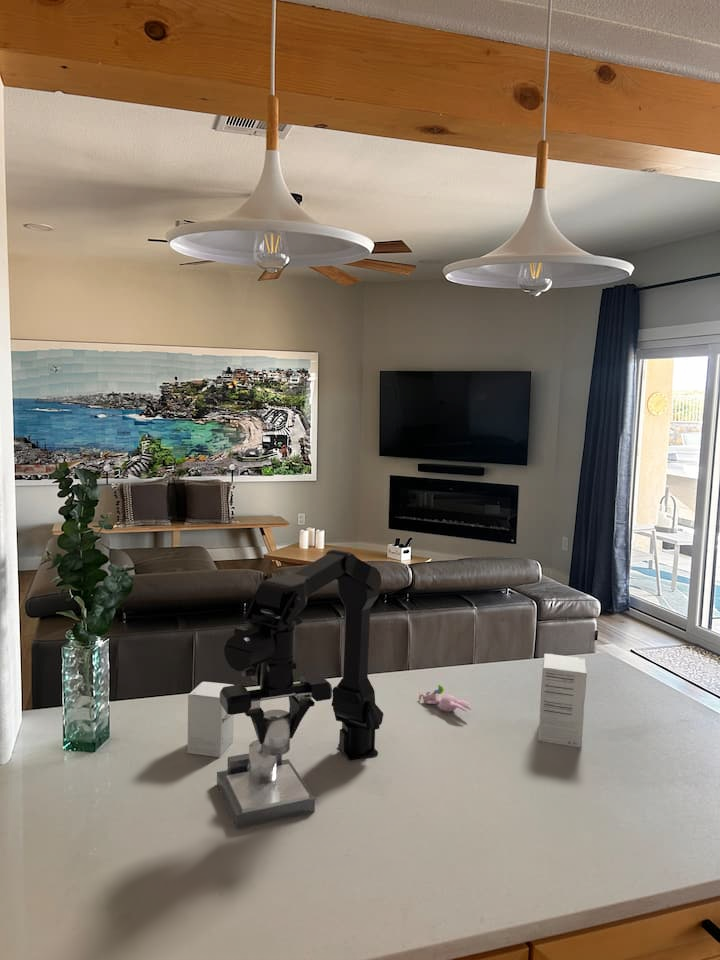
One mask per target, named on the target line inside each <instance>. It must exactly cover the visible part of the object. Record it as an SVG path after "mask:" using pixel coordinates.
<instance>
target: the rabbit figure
mask: <svg viewBox="0 0 720 960" xmlns="http://www.w3.org/2000/svg"><path fill="white" fill-rule="evenodd" d="M437 686H438V688H436V689H435V690H434V691H433V692H431V691H429V692H428V691H427V692H426V694H423V693H422V694H421V693H420V692H419V694H418V695H419V696H418V700H419V701H421V700H422V701H423V703H425V704H426V705H436V706H438V708H439V710H440V711H444V712H447V713H448V712H453V711H455V710H456V709H460V710H462V711H464V712H467V709H468V710H470V711H471V710H472V707H471V705H470V703H469V702H468V701H466V700H461V699H458V698H457V697H455V696H453V695H450V694H447V695H444V696H442V697H441V698H440V697H439V694H443V692H444V687H443V686H442V685H440V684H437Z"/></svg>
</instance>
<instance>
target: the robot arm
mask: <svg viewBox="0 0 720 960" xmlns="http://www.w3.org/2000/svg"><path fill="white" fill-rule="evenodd" d="M334 581H336V582H337V591H338V592H337V593H338V596H339V598H340V600H341V602H342V604H343V605H344V608H345V618H344V619H345V620H344V623H345V624H344V643H343V667H342V668H343V671H342V678H341V680H340V681H339V683H338V684H337V685H336V686H334V687H332V684H331V683H330V682H329V681H328V680H327V679H326V678H325V677H324V676H323V675H322V674H321V673H313V674H305V675H302V676H300V678H299V682H294V679H295V678H294V677H295V676H294V675H295V674H294V673H295V670H296V669H297V662H296V661H295V644H296V643H295V641H296V639H295V638H296V637H295V635H296V633H295V632H296V626H298V625H301V624H302V623H303V621H304V620H303V619H302V618H301V617H300V616H298V615H299V613H300V612H301V611H302V610H303V609H305V608H306V607H307V604H308V603H307V602H308V598H310V597H311V596H312V595H313V594H315V593H316V592H318V591H320V590H322V588H323V589H324V587H326V586H327V585H329V584H330V583H332V582H334ZM381 585H382V575H381V572H380V571H379V570H378V568H377V567H375V566H372V565H370V564H368V563H367V562H365V561H363V560H362V559H359V558H358V557H357V556H356V555H355V554H353V553H352V552H351V551H345V550H339V549H331V550H328V551H327V552H326V553H325V554H324V555H323V556H322V557H319V558H318V559H316V560H314V561H313V562H311V563H309V564H308V565H306V566H304V567H303V568H301V569H299V570H298V571H296V572H294V573H292V574H288V575H278V576H273V577H270V578H267V579H265V580H263V581H261V582H260V584H259V585H258V588H257V590H256V592H255V594H254V595H253V598H252V599H251V600H252V601H251V602H250V605H249V607H248V609H247V611H246V612H245V614H244V617H243V622H244V623H246V625H243V626H237V627H235V628H234V630H233V631H234V632H233V635H232V636H230V637H228V639H227V640H226V643H225V646H224V649H223V650H224V651H223V652H224V658H225V660H226V663H228V666H230V667H231V668H232V669H233V670H234V671H237V672H241V676H242V677H243V678H248V677H251V681H252V682H254V684H255V685H256V686H259V688H258V689H250V690H248V689H247V688H246V687H245V685H244V684H243V683H242V684H236V685H235V684H233V685H234V686H226V687H223V688H222V690H221V691H220V703H221V705H222V706H223V708H224V710H225V711H226V713H227V714H230V715H239V714H244V715H245V716H246V717H250V719H251V721H252V725H253V727H254V731H255V734H256V738H257V740H258V741H259V743H260V744H263V739H264V712H265V711H264V710H263V709H262V707H261V702H263V701H268V700H274V699H280V698H281V699H282V698H288V701H289V711H288V712H289V713H290V715H291V722H290V740H291V739H293V737H294V736H295V733H296V731H297V729H298V727H299V726H300V723H301V722H302V720H303V719H304V717H305V715H306V714H307V712H308V711H309V710H310V708H311V707H314V706H315V702H323V701H327V700H331V699H332V700H331V701H332V702H331V707H332V710H333V713H334V717H335V721H336V722H340V723H341V729H339V740H338V741H339V743H338V745H337V746H338V748H339V749H340V750H341V752H342V753H343V754H344V755H345V756H346V758H347V759H348V760H350V761H353V760H358V759H363V758H368V757H373V756H378V755H379V752H378V750H377V749H376V748H375V744H376V730H379V729H380V726H381V724H382V723H383V719H384V712H383V711H382V710H381V708H380V707H379V706H378V705H377V703H376V696H375V695H376V693H375V692H376V691H375V689H374V686H373V685H372V682H371V681H370V679H369V677H368V675H369V673H368V672H369V671H368V670H369V669H368V668H369V650H370V649H369V645H370V623H371V608H372V606H373V605H374V603H375V602H376V600H377V599H378V597H379V595H380V589H381ZM260 613H262V614H260ZM264 614H268V615H272V616H268V615H264ZM273 616H276V617H273Z"/></svg>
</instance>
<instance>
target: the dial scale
mask: <svg viewBox="0 0 720 960" xmlns="http://www.w3.org/2000/svg"><path fill="white" fill-rule="evenodd" d="M216 785H217V787H218V790H219V792H220V795H221V797H222V799H223V801H224V803H225V806H226V808H227V810H228V812H229V815H230V816H231V819H232V821H233V824H234V826H235V828H236V829H242V828H248V827H253V826H256V825H262V824H265V823H270V822H274V821H279V820H283V819H288V818H292V817H297V816H298V817H299V816H302V815H307V814H311V813H315V811H316V808H315V807H316V798H315V797H314V795H313V794H312V792H311V790H310V789H309V788H308V787H307V784H306V783H305V781H304V780H303V779H302V777H301V776H300V774H299V773H298V771H297V770H296V768H295V767H294V765H293V764H292V762H291V760H290V759H288V758H286V759H283V755H278V756H277V763H276V779H275V780H274V781H272V782H270V783H266V784H257V783H253V782H251V781H250V780H249V752H248V753H244V754H238V755H231V756H227V770H222V771H216Z"/></svg>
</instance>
